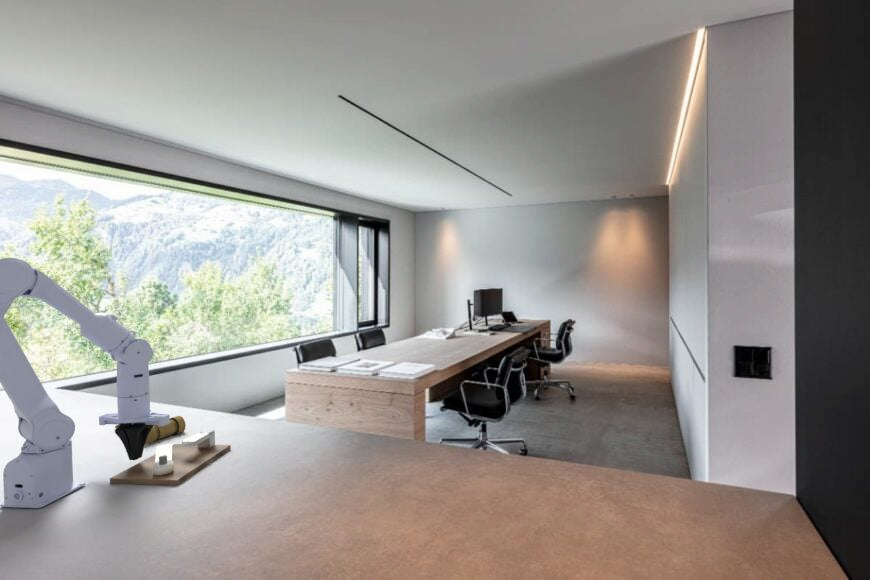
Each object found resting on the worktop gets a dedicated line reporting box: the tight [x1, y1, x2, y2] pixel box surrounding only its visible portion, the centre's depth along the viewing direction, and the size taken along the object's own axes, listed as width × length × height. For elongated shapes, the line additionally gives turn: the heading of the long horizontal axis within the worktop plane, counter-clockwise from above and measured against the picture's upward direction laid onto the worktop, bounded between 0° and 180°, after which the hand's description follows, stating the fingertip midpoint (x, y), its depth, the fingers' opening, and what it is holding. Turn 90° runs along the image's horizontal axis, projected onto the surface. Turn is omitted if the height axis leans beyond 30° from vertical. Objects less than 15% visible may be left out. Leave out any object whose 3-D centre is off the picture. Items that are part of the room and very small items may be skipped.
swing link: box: [153, 443, 174, 475], centre depth 97 cm, size 14×4×3 cm, turn 29°
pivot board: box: [109, 443, 231, 486], centre depth 99 cm, size 19×14×1 cm
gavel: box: [114, 415, 186, 445], centre depth 120 cm, size 21×5×10 cm
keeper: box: [181, 429, 216, 449], centre depth 104 cm, size 8×3×4 cm, turn 174°
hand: (135, 458), depth 97 cm, fingers closed
